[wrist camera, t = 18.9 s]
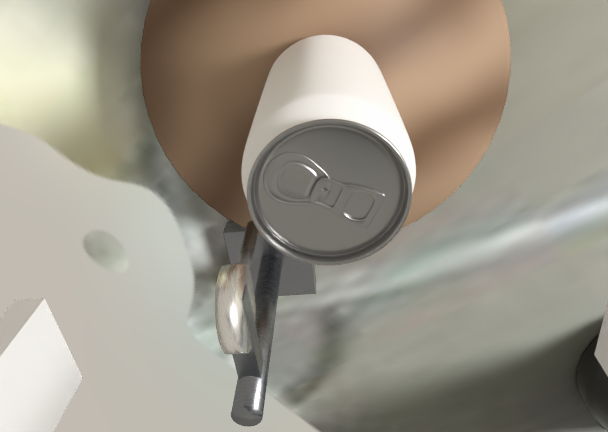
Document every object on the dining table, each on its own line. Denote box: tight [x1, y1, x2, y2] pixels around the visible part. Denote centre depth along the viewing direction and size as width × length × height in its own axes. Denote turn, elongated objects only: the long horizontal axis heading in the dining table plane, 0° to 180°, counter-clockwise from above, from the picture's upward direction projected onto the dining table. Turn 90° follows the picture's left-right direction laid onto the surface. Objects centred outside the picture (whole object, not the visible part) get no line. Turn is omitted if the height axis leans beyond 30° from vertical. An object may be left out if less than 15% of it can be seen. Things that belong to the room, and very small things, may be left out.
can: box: [241, 35, 416, 265], centre depth 22 cm, size 6×6×12 cm
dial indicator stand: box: [215, 221, 316, 426], centre depth 30 cm, size 10×6×14 cm, turn 6°
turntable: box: [141, 0, 511, 234], centre depth 24 cm, size 20×20×10 cm
